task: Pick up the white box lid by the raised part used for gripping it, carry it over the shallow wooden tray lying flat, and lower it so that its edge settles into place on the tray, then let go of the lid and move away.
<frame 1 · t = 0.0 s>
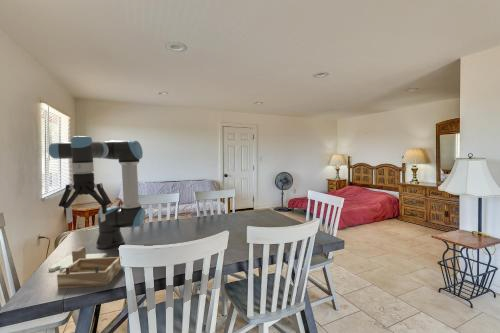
hand: (86, 221, 110), 28 cm above the table, tool pointing down, fingers open, 13 cm apart
white box lid: (79, 263, 133), on the table
shallow wooden tray: (92, 277, 118), on the table
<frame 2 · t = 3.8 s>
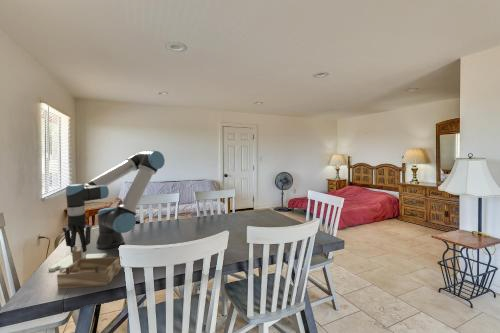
hand: (79, 258, 133), 3 cm above the table, tool pointing down, fingers closed on white box lid, 3 cm apart
white box lid: (79, 263, 133), on the table, touching gripper
when the fingers open (10 cm above the table, at t = 10.0 s): white box lid stays where it is, resting on shallow wooden tray.
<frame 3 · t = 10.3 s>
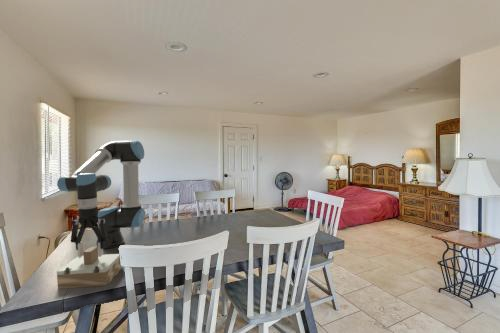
hand: (91, 256, 117), 10 cm above the table, tool pointing down, fingers open, 8 cm apart
white box lid: (91, 265, 117), point 6 cm above the table, touching shallow wooden tray
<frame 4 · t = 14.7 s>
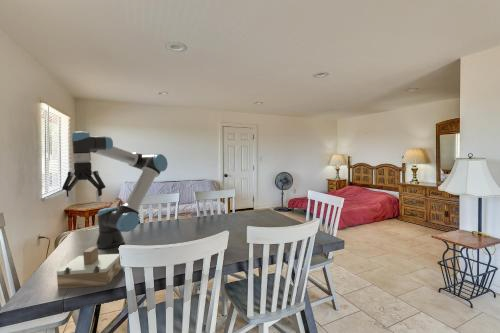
hand: (85, 202, 132), 32 cm above the table, tool pointing down, fingers open, 13 cm apart
at the end: white box lid 0.0 cm off-centre on the shallow wooden tray, point 6.0 cm above the shallow wooden tray's base; white box lid tilted 0°; the gripper is holding nothing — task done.
